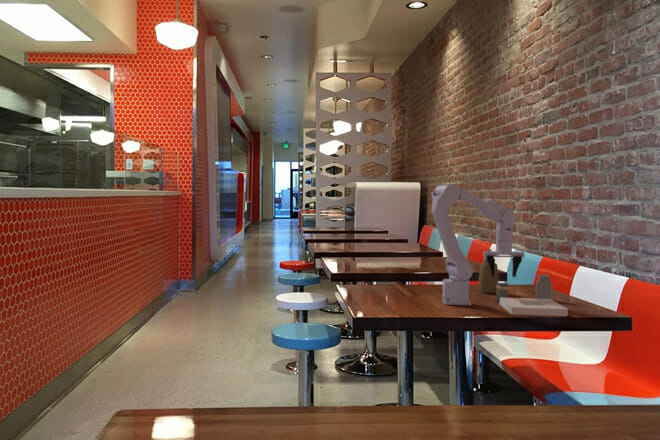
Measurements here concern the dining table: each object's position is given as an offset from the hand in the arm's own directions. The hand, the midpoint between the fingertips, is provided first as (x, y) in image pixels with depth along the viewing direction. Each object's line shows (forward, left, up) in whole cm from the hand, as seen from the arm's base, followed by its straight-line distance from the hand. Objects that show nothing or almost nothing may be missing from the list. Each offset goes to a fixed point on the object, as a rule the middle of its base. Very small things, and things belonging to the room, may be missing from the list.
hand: (503, 276), depth 201 cm
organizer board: (+7, -14, -10) cm, 18 cm away
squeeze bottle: (-1, +20, -10) cm, 22 cm away
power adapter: (+17, +6, -10) cm, 20 cm away
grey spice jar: (0, 0, -10) cm, 10 cm away
